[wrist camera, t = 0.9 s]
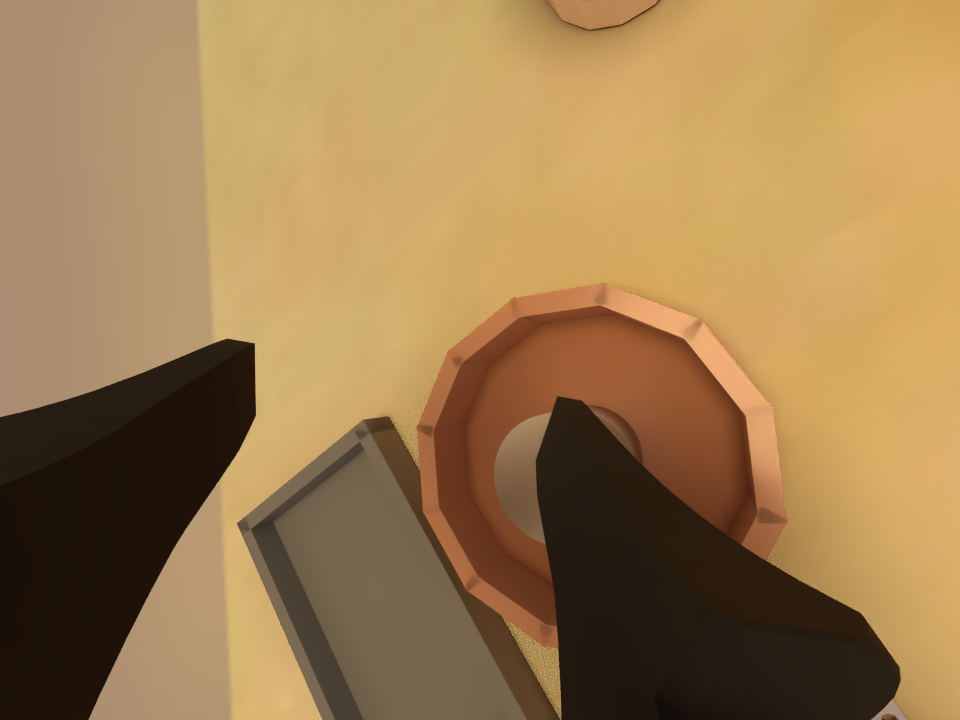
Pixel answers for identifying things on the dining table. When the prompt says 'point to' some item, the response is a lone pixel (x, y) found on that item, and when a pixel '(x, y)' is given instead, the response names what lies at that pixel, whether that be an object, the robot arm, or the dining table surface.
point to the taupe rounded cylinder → (520, 466)
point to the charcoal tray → (381, 594)
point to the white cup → (599, 11)
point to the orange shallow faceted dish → (600, 382)
